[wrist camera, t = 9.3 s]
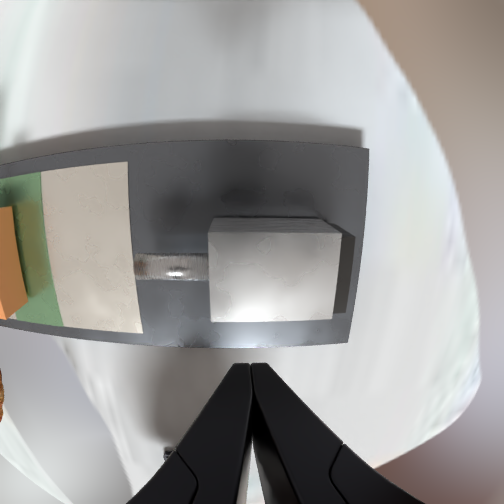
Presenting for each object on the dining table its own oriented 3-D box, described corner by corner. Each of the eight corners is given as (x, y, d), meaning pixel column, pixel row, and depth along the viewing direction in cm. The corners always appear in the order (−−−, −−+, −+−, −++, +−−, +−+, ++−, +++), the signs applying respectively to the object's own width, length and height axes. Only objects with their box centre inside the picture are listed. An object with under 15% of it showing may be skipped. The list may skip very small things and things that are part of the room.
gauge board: (342, 334, 21) (379, 398, 14) (-4, 317, 19) (-48, 357, 12) (361, 149, 17) (426, 146, 10) (-28, 173, 16) (-88, 185, 9)
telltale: (28, 301, 17) (6, 319, 14) (17, 300, 17) (-5, 317, 14) (11, 206, 15) (-16, 214, 12) (1, 207, 15) (-26, 215, 12)
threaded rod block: (327, 290, 18) (346, 318, 15) (150, 290, 18) (132, 319, 14) (334, 219, 17) (357, 233, 13) (143, 218, 16) (122, 233, 13)
